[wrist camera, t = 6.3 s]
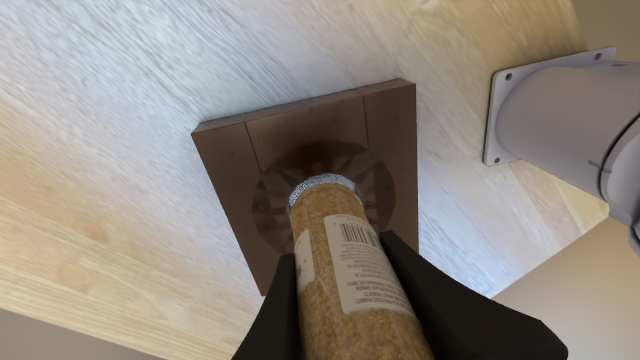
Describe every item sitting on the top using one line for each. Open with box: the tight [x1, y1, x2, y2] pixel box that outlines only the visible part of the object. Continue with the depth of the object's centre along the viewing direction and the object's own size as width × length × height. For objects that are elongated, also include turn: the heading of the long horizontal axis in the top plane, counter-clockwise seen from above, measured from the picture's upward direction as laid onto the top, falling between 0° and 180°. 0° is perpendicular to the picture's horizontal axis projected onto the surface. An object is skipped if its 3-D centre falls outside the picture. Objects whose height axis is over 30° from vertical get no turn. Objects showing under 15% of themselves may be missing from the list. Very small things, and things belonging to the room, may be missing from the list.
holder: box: [191, 78, 419, 296], centre depth 23 cm, size 15×16×2 cm
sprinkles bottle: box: [290, 183, 435, 360], centre depth 11 cm, size 5×5×14 cm
